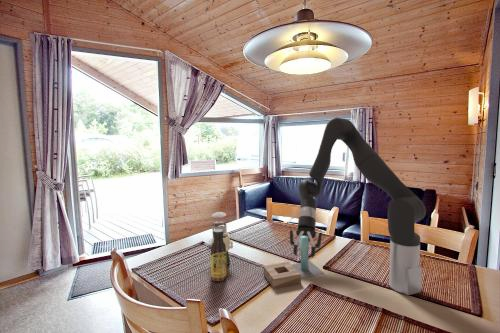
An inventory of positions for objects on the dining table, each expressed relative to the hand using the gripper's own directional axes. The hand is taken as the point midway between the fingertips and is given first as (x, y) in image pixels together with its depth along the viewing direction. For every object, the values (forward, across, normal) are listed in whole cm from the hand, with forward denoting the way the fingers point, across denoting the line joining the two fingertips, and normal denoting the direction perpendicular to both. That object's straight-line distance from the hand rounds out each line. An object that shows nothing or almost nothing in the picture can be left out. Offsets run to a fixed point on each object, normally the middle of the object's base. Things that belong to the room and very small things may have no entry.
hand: (303, 255), depth 111 cm
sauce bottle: (+15, -32, -5) cm, 35 cm away
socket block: (+11, -8, -1) cm, 13 cm away
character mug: (+6, -36, +4) cm, 36 cm away
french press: (-13, -51, +23) cm, 57 cm away
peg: (+3, 0, +6) cm, 7 cm away
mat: (+4, 0, +6) cm, 7 cm away
